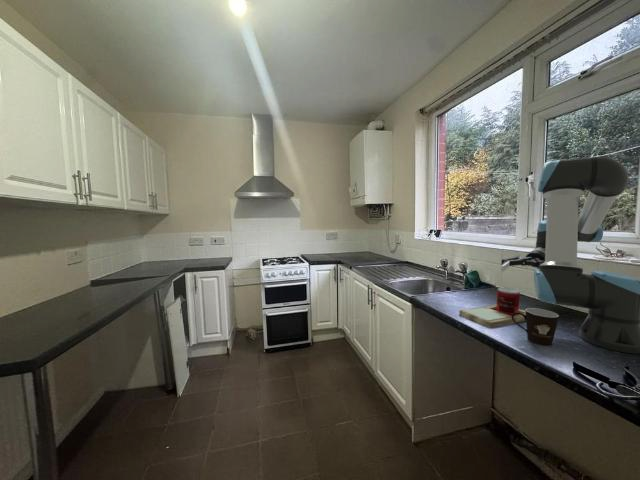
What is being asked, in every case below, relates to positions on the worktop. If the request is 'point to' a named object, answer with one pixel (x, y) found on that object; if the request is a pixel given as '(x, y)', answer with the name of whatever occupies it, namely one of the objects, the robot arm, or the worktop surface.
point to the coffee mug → (539, 325)
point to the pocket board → (491, 316)
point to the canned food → (508, 301)
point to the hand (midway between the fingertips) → (520, 272)
